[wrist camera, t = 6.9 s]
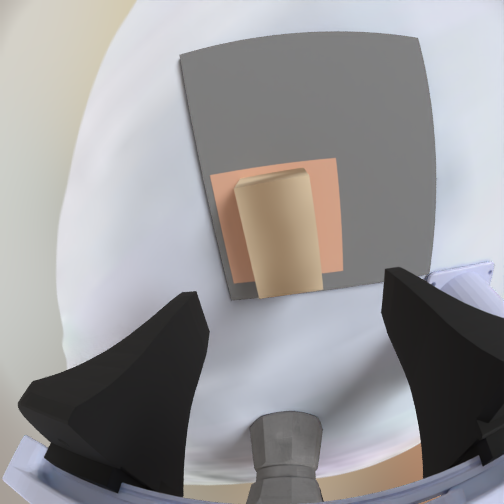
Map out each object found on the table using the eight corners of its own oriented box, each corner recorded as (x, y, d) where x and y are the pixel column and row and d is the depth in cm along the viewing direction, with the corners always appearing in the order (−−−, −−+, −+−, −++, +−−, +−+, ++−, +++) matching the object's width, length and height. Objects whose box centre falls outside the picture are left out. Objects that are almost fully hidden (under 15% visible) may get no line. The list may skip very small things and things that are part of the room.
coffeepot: (223, 417, 30) (200, 548, 14) (285, 393, 27) (280, 555, 10) (296, 454, 34) (294, 555, 18) (350, 435, 31) (362, 546, 15)
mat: (427, 271, 19) (429, 274, 19) (232, 297, 22) (231, 300, 21) (415, 39, 12) (418, 37, 12) (181, 56, 14) (179, 54, 14)
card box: (303, 167, 17) (309, 175, 14) (317, 266, 19) (323, 289, 17) (240, 178, 17) (233, 188, 15) (261, 274, 20) (259, 298, 17)
